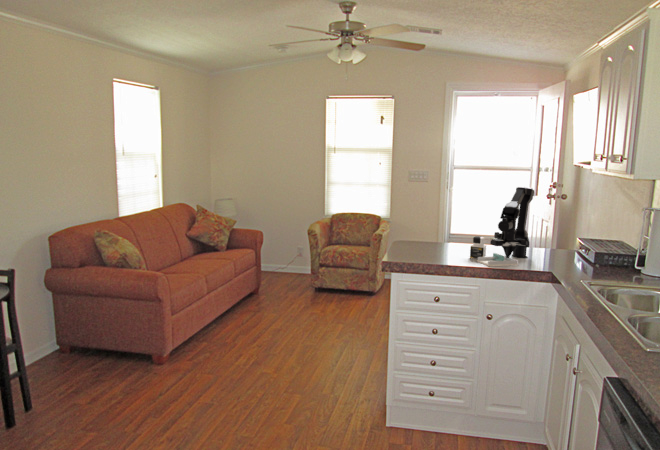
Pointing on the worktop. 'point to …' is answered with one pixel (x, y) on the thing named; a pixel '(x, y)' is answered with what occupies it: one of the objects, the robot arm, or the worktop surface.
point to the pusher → (496, 257)
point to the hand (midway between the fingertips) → (507, 258)
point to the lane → (497, 263)
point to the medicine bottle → (478, 248)
